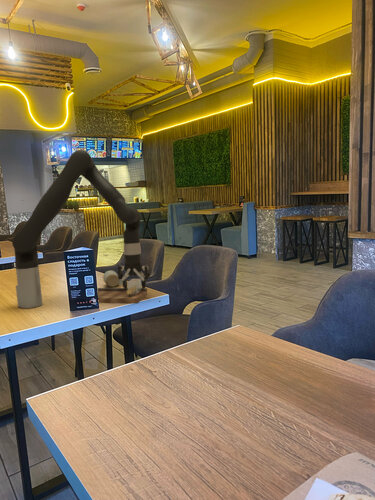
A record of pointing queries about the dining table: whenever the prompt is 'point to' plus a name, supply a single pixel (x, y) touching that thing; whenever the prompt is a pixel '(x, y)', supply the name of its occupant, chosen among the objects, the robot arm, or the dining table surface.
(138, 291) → the marking gauge
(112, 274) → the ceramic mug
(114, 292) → the walnut board
